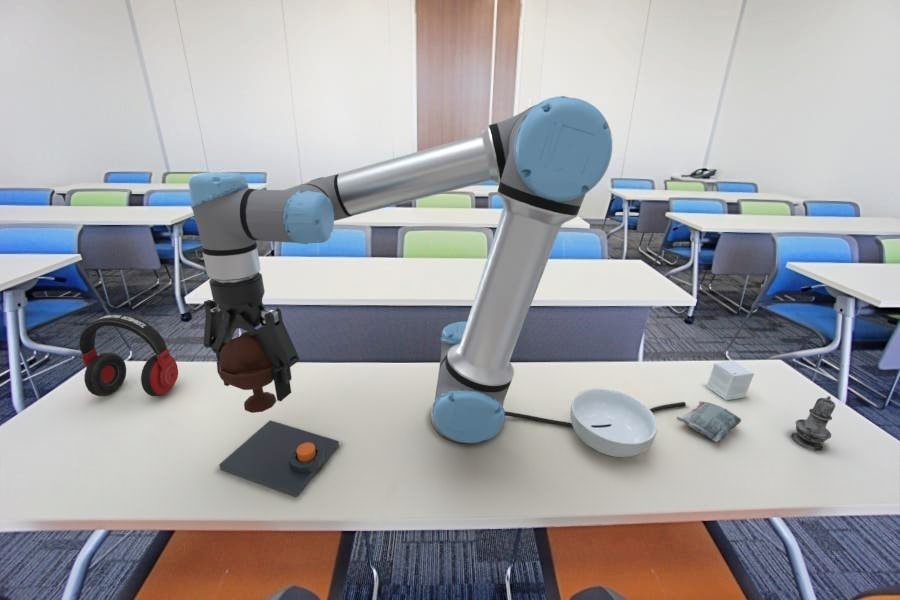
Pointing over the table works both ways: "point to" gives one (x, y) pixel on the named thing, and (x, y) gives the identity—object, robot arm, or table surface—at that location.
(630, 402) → the cereal bowl
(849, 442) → the table surface
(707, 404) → the packaged food
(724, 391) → the product box
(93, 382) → the headphones
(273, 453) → the scale
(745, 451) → the table surface
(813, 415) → the grey chess piece
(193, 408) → the table surface
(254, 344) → the ice cream bowl
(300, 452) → the button
